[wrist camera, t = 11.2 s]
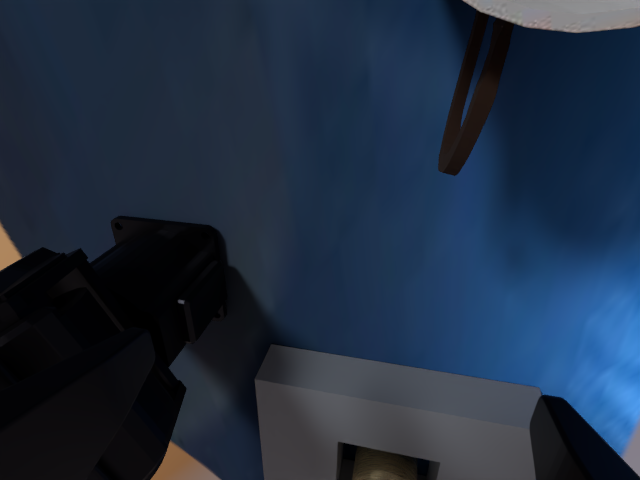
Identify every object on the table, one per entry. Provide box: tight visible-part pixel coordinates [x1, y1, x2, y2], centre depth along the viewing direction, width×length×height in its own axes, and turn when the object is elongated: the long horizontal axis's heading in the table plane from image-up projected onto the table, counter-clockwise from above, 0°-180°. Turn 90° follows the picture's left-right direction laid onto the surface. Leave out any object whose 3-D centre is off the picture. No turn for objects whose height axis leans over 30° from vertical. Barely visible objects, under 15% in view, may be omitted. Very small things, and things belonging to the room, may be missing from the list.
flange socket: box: [255, 344, 541, 480], centre depth 26 cm, size 16×14×3 cm
